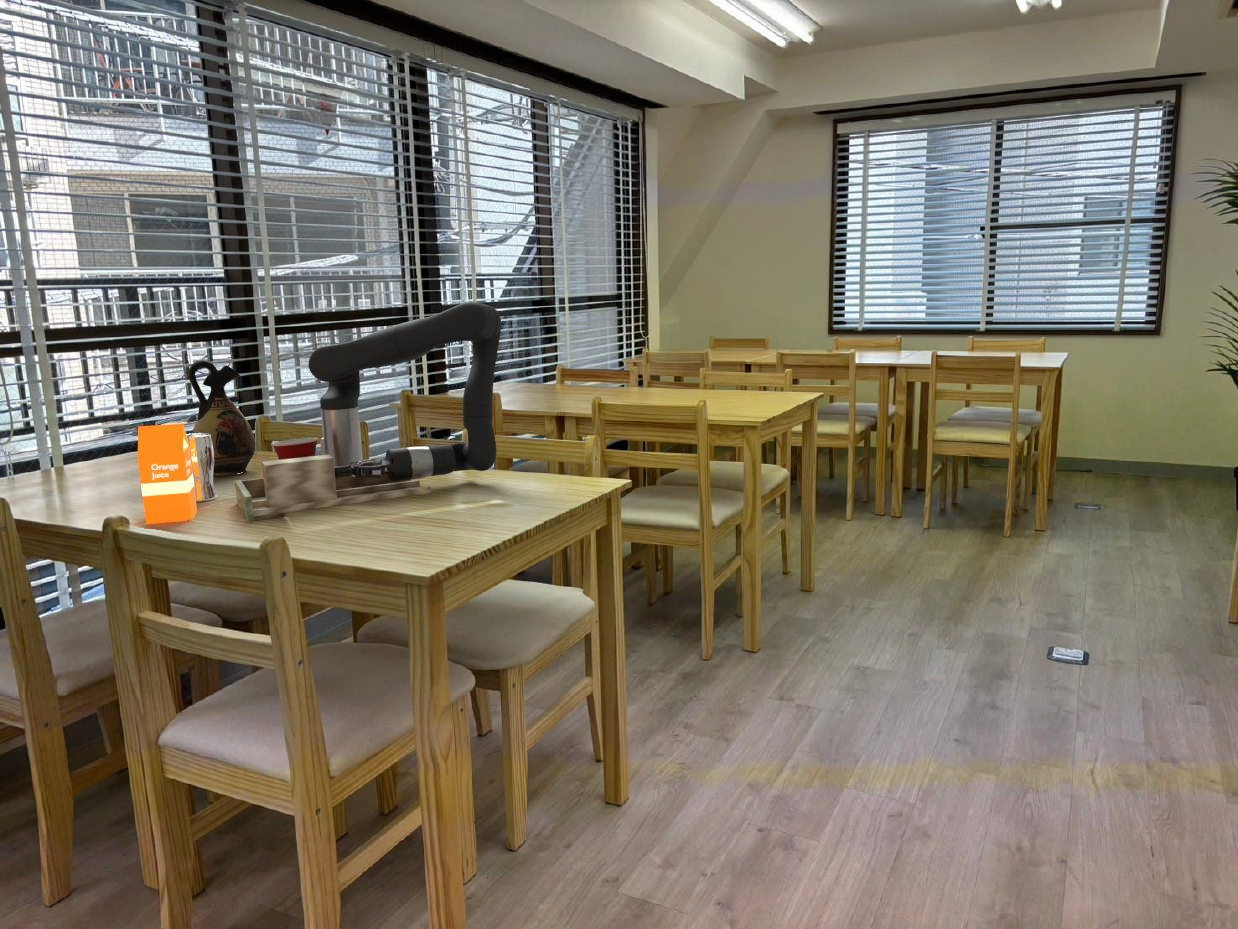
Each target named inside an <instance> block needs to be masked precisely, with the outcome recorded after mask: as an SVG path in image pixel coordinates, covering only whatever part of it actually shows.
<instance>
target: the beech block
mask: <svg viewBox="0 0 1238 929" xmlns="http://www.w3.org/2000/svg"><path fill="white" fill-rule="evenodd" d="M261 468H262V476H263V477H262V478H264V487H265V496H266V506H267V508H273V507H280V506H288V505H296V504H303V503H311V502H319V501H326V500H334V499H337V493H336V482H335V471H334V460H333V457H331V456H330V455H315V456H310V457H301V458H292V459H283V460H279V459H276V460H274V459H273V460H267V461H261Z"/></svg>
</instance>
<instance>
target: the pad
mask: <svg viewBox="0 0 1238 929" xmlns="http://www.w3.org/2000/svg"><path fill="white" fill-rule="evenodd" d="M265 499H266V497H259V498H252V501H257V500H265Z"/></svg>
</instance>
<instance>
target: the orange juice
mask: <svg viewBox="0 0 1238 929" xmlns="http://www.w3.org/2000/svg"><path fill="white" fill-rule="evenodd" d="M137 427H138V429H137V430H138V434H137V455H136V456H137V464H138V471H139V479H140V487H141V488H140V489H141V494H142V499H143V509H144V516H145V522H146V523H145V524H146V525H154V524H163V523H164V524H166V523H177V522H187V520H189V521H192V520H193V519H194V518H195V516H196V515H197V513H198V508H197V502H196V498H195V490H194V479H193V473H192V465H191V456H190V448H189V444H188V440H187V436H186V434H187V433H186V429H185V426H184V423H175V424H174V423H173V424H160V425H159V424H158V425H143V426H142V425H141V426H137ZM195 514H196V515H195Z"/></svg>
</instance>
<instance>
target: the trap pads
mask: <svg viewBox="0 0 1238 929" xmlns="http://www.w3.org/2000/svg"><path fill="white" fill-rule="evenodd" d="M383 484H389V483H387V482H379V483H371V484H363V485H355V486H352V487H353V488H360V487H367V486H375V485H383Z"/></svg>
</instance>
